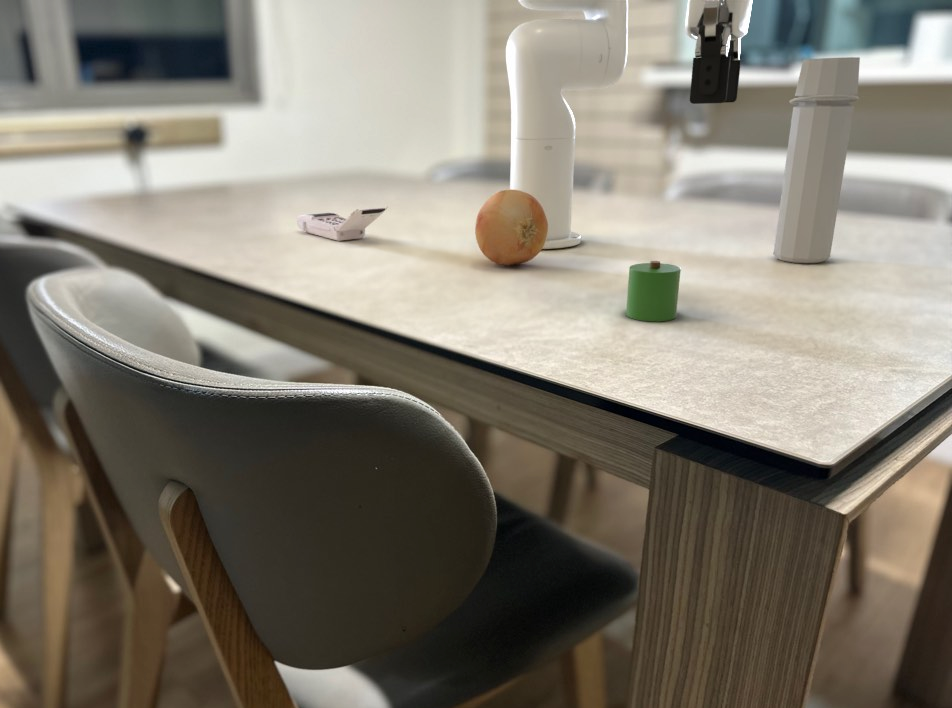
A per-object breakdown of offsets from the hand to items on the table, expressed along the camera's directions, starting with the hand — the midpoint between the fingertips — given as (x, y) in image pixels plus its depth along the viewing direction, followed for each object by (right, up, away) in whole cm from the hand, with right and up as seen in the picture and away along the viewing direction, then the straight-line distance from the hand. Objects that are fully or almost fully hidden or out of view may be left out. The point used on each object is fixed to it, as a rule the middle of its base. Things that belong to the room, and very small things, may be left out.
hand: (714, 102), depth 80 cm
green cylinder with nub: (-5, -21, +4) cm, 22 cm away
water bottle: (+23, -10, +30) cm, 39 cm away
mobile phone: (-42, -2, +57) cm, 71 cm away
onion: (-16, -11, +31) cm, 36 cm away
